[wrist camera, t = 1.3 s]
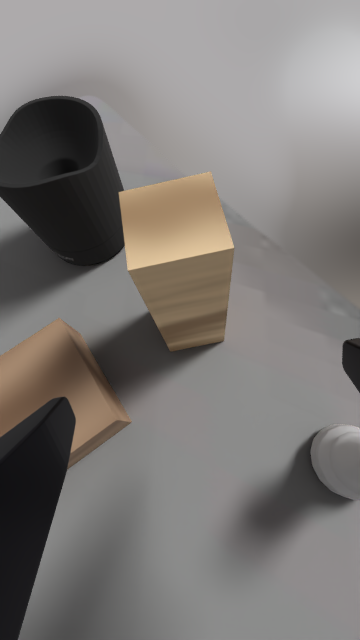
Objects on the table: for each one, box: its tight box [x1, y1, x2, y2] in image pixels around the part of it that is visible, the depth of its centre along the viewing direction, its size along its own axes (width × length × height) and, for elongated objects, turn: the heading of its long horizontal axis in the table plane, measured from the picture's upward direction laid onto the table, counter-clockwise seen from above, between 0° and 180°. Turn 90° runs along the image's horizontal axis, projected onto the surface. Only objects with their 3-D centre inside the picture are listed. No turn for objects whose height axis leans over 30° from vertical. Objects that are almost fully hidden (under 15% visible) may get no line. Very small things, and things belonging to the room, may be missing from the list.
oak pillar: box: [119, 172, 234, 352], centre depth 18 cm, size 4×4×12 cm
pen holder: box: [0, 96, 125, 265], centre depth 24 cm, size 9×9×10 cm
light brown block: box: [0, 318, 132, 469], centre depth 21 cm, size 9×9×4 cm
